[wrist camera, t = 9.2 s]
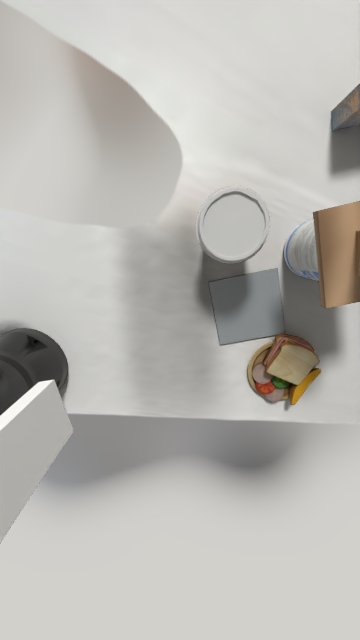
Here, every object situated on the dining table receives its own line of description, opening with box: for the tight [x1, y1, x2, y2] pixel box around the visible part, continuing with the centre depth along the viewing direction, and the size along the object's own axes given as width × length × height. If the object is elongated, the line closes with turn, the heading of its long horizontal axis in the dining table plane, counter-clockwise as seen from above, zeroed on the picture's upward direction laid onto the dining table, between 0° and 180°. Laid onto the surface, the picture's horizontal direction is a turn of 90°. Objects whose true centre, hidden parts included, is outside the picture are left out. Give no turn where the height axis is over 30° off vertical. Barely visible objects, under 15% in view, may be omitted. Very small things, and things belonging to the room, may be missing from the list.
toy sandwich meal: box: [248, 334, 321, 405], centre depth 48 cm, size 12×14×5 cm
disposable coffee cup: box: [196, 186, 270, 264], centre depth 38 cm, size 10×10×12 cm
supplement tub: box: [284, 219, 319, 281], centre depth 37 cm, size 10×10×15 cm
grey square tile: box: [209, 268, 285, 345], centre depth 47 cm, size 12×12×1 cm
